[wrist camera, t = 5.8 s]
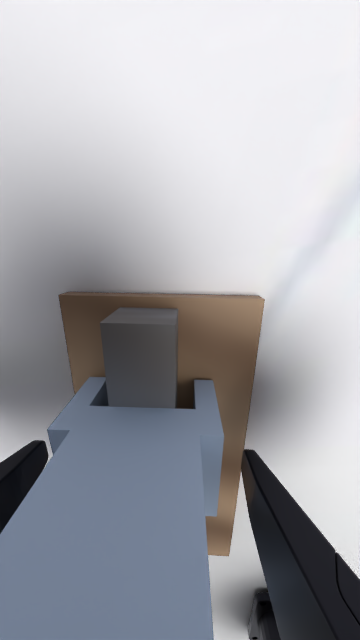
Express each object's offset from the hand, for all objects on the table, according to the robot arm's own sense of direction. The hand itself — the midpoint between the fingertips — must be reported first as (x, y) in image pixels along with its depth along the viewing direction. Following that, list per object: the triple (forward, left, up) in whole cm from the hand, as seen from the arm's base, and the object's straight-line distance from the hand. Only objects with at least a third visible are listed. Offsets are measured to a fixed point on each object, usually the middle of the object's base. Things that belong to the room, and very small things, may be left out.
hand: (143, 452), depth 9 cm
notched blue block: (0, 0, -2) cm, 2 cm away
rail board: (-3, 0, -3) cm, 4 cm away
